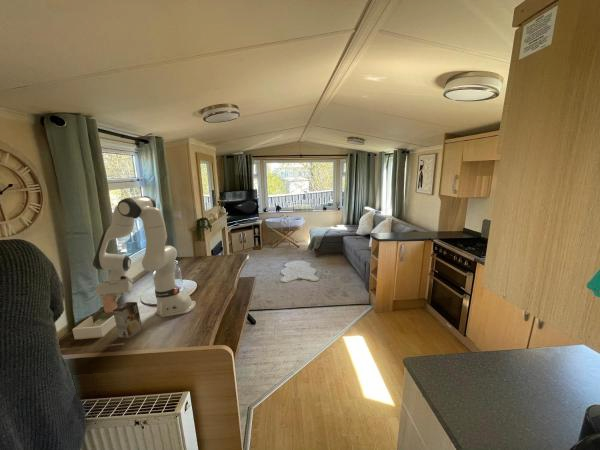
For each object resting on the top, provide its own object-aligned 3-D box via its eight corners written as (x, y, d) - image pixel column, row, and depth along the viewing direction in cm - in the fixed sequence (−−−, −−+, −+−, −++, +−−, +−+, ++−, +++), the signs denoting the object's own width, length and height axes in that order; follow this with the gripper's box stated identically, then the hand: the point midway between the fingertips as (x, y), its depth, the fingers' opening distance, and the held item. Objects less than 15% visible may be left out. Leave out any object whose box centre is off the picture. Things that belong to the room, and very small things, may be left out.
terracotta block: (117, 308, 159) (114, 294, 158) (112, 311, 155) (109, 297, 153) (110, 308, 159) (106, 295, 157) (105, 312, 155) (101, 298, 153)
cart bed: (118, 324, 150) (116, 313, 148) (103, 338, 137) (100, 326, 136) (92, 326, 149) (90, 316, 148) (75, 340, 136) (72, 329, 135)
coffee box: (132, 328, 145) (127, 301, 142) (142, 329, 143) (137, 301, 140) (118, 338, 136) (112, 309, 133) (128, 339, 134) (123, 310, 131)
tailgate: (118, 322, 150) (123, 318, 154) (118, 321, 150) (123, 316, 154) (92, 325, 149) (98, 320, 154) (92, 323, 149) (98, 318, 153)
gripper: (96, 279, 161) (88, 302, 153) (130, 276, 162) (124, 298, 154) (102, 283, 166) (95, 305, 159) (135, 280, 167) (130, 301, 159)
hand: (110, 302), depth 156 cm, fingers closed on terracotta block, 4 cm apart
